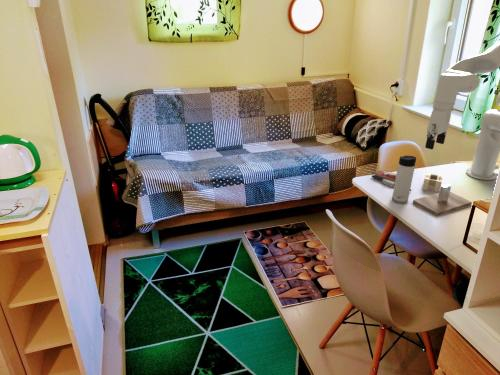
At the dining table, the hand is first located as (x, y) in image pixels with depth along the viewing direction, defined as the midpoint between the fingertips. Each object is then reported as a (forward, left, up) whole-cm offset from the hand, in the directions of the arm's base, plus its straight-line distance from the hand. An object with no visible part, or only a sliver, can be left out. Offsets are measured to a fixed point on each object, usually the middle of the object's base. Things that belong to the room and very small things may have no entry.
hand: (434, 145), depth 161 cm
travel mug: (+17, +3, -21) cm, 27 cm away
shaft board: (+4, +13, -21) cm, 25 cm away
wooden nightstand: (-5, 0, -21) cm, 21 cm away
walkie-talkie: (+7, -11, -21) cm, 25 cm away
